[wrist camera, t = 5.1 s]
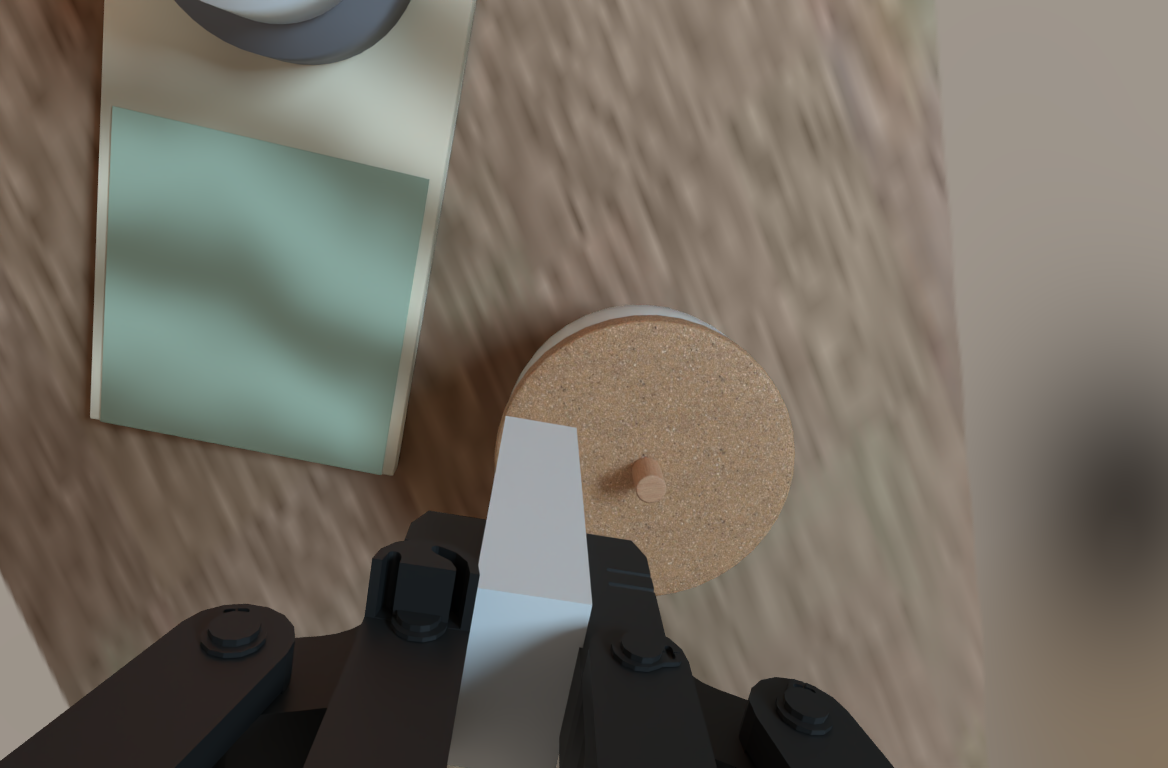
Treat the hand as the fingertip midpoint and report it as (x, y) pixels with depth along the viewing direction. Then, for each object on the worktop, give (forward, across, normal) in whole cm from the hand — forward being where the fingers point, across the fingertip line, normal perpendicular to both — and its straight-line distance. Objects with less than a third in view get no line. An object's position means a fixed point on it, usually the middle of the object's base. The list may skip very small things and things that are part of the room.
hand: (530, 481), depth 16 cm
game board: (+17, +11, -5) cm, 21 cm away
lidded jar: (+18, -4, +3) cm, 19 cm away
